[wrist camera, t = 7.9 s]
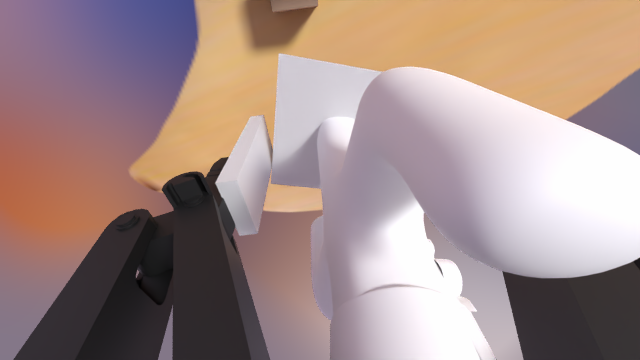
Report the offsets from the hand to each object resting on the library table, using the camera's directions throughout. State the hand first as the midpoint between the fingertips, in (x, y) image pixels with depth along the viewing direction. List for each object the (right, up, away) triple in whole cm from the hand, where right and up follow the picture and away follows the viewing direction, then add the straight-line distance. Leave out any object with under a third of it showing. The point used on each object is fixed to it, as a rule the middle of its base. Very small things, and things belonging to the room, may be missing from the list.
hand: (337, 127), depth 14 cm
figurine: (0, +1, +2) cm, 3 cm away
